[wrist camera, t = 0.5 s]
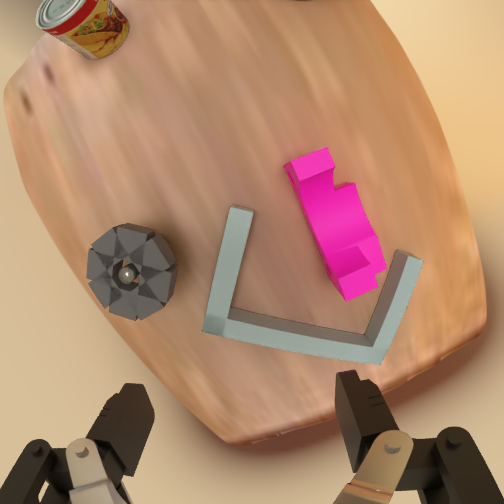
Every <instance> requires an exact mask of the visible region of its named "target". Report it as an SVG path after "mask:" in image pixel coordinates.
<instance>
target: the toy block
mask: <svg viewBox="0 0 504 504" xmlns="http://www.w3.org/2000/svg"><path fill="white" fill-rule="evenodd" d="M284 168H285V170H286V173H287V175H288V177H289V179H290V182H291V184H292V186H293V189H294V191H295V193H296V196H297V198H298V200H299V203H300V205H301V207H302V210H303V212H304V214H305V217H306V219H307V222H308V224H309V227H310V229H311V232H312V234H313V237H314V239H315V242H316V244H317V247H318V249H319V252H320V254H321V257H322V259H323V262H324V265H325V267H326V270H327V272H328V275H329V278H330V280H331V281H332V283H333V284H334V285H335V287H336V288H337V289H338V291H339V292H340V294H341V295H342V296H343V298H344V299H345V300H346V301H348V300H351V299H353V298H355V297H357V296H359V295H361V294H364V293H366V292H368V291H370V290H372V289H374V288H376V287H378V285H377V281H376V278H375V274H377V273H379V272H382V271H384V270H386V269H387V267H386V264H385V260H384V257H383V254H382V250H381V247H380V244H379V241H378V238H377V235H376V234H375V232H374V230H373V229H372V227H371V225H370V223H369V221H368V219H367V216H366V214H365V212H364V209H363V207H362V204H361V201H360V198H359V195H358V192H357V188H356V184H355V183H344V184H342V185H340V186H337V187H335V188H334V183H333V170H334V168H335V164H334V162H333V160H332V157H331V155H330V153H329V150H328V148H327V147H325V148H322V149H320V150H317V151H315V152H312V153H310V154H307V155H305V156H302V157H300V158H297V159H295V160H292V161H290V162H289V163H287V164H286V165H284Z"/></svg>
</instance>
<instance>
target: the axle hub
mask: <svg viewBox="0 0 504 504" xmlns="http://www.w3.org/2000/svg"><path fill="white" fill-rule="evenodd" d="M164 240H165V242H166V243H167V245H168V246H169V248H170V250H171V251H172V248H171V245H170V244H169V242H168V241H167V240H166V239H164ZM172 253H173V252H172ZM137 277H138V278H140V272H139V271H138V269H137V268H136V266H135V265H134V263H132V262H128V265H126V266H125V267H123V268H122V269H121V270H120V271H119V279H120V280H121V281H122V282H123V283H125V284H129V283H131V282H132V281H133V280H134V279H136V278H137Z"/></svg>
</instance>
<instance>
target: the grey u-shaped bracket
mask: <svg viewBox="0 0 504 504" xmlns="http://www.w3.org/2000/svg"><path fill="white" fill-rule="evenodd" d="M253 213H254V210H252V209H248V208H244V207H240V206H236V205H232V206H231V207H230V211H229V215H228V219H227V223H226V227H225V232H224V236H223V240H222V244H221V249H220V253H219V257H218V262H217V266H216V270H215V275H214V279H213V284H212V288H211V293H210V297H209V302H208V306H207V311H206V316H205V320H204V325H203V330H202V332H206V333H210V334H214V335H218V336H222V337H226V338H230V339H234V340H239V341H243V342H248V343H252V344H257V345H262V346H266V347H271V348H276V349H281V350H286V351H292V352H297V353H302V354H308V355H314V356H320V357H326V358H332V359H339V360H346V361H353V362H360V363H368V364H376V365H381V363H382V361H383V359H384V357H385V355H386V353H387V351H388V349H389V347H390V344H391V342H392V340H393V338H394V336H395V334H396V331H397V329H398V327H399V324H400V322H401V320H402V317H403V315H404V313H405V310H406V308H407V305H408V303H409V300H410V298H411V295H412V292H413V290H414V287H415V284H416V282H417V279H418V276H419V273H420V270H421V267H422V264H423V260H421V259H419V258H417V257H415V256H413V255H411V254H409V253H405V252H402V251H399V250H396V252H395V255H394V258H393V261H392V264H391V267H390V270H389V273H388V276H387V278H386V281H385V284H384V287H383V290H382V292H381V295H380V298H379V300H378V303H377V305H376V308H375V311H374V313H373V316H372V318H371V320H370V323H369V325H368V328H367V330H366V332H365V335H362V334H356V333H350V332H345V331H339V330H334V329H329V328H324V327H319V326H314V325H309V324H304V323H299V322H294V321H289V320H285V319H280V318H276V317H271V316H267V315H262V314H258V313H253V312H249V311H245V310H241V309H237V308H232V307H230V304H231V300H232V296H233V292H234V288H235V284H236V280H237V276H238V272H239V268H240V264H241V260H242V256H243V253H244V249H245V245H246V241H247V237H248V233H249V229H250V225H251V221H252V217H253Z"/></svg>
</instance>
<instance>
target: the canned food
mask: <svg viewBox="0 0 504 504" xmlns="http://www.w3.org/2000/svg"><path fill="white" fill-rule="evenodd" d="M36 24H37V26H38V27H39V28H41V29H42V30H44V31H46V32H47V33H49V34H51V35H52V36H54V37H56V38H57V39H59V40H60V41H62V42H64V43H65V44H67V45H68V46H70V47H72V48H73V49H75V50H76V51H78V52H79V53H81V54H83V55H84V56H86V57H87V58H90V59H100V58H104V57H106V56H108V55H110V54H112V53H113V52H114V51H115V50H117V49H118V48H119V47H120V46H121V45H122V44H123V42H124V40H125V39H126V37H127V35H128V32H129V22H128V20H127V19H126V17H125V16H124V15H123V14H122V13H121V12H120V11H119V9H118V8H117V7H116V6H115V5H114V4H113V3H112V2H111V0H43V2H42V3H41V5H40V7H39V9H38V11H37V14H36Z"/></svg>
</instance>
